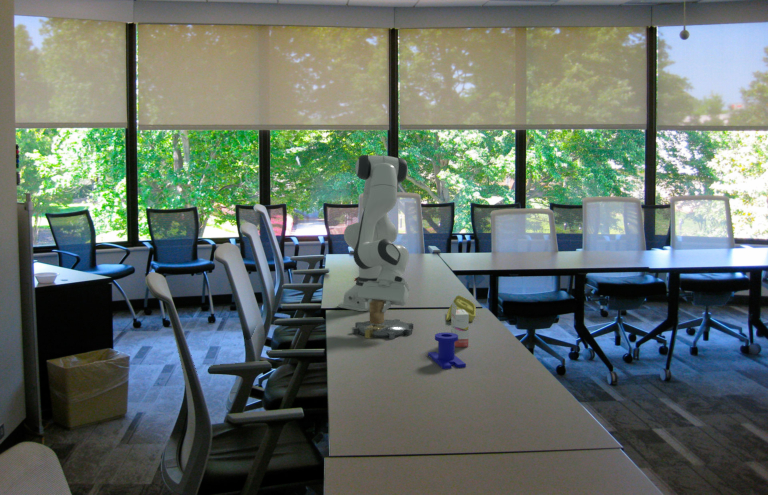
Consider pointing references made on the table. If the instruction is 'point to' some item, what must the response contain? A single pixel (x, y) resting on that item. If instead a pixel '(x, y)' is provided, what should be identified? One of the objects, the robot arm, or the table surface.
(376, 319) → the brown rectangular block
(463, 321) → the ink cartridge box
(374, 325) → the sprocket plate
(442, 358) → the mount
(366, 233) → the robot arm
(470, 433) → the table surface
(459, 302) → the plastic component
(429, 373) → the table surface
